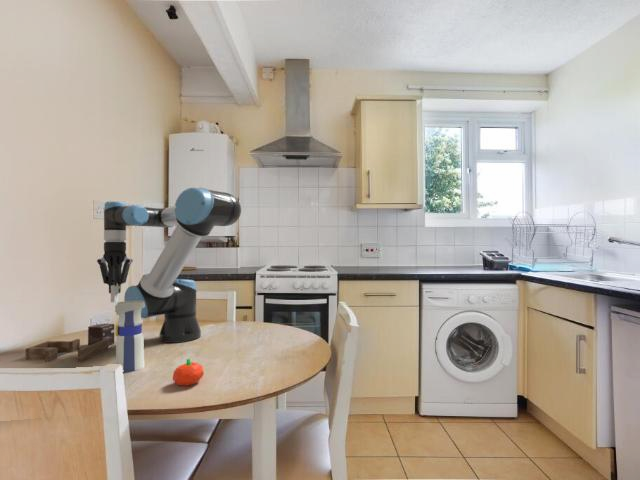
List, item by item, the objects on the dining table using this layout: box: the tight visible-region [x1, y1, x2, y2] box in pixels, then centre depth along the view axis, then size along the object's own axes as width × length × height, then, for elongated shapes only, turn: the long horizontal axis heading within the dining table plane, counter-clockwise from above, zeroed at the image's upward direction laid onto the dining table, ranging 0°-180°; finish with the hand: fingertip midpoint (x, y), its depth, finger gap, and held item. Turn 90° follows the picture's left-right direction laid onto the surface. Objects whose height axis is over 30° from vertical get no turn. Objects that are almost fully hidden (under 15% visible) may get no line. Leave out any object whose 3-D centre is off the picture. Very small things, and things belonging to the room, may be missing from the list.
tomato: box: [172, 358, 205, 386], centre depth 93 cm, size 7×8×6 cm
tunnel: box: [25, 338, 110, 363], centre depth 118 cm, size 20×14×4 cm
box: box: [87, 323, 115, 347], centre depth 130 cm, size 6×6×7 cm
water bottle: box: [114, 283, 145, 373], centre depth 105 cm, size 8×9×25 cm
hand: (114, 301), depth 139 cm, fingers closed
